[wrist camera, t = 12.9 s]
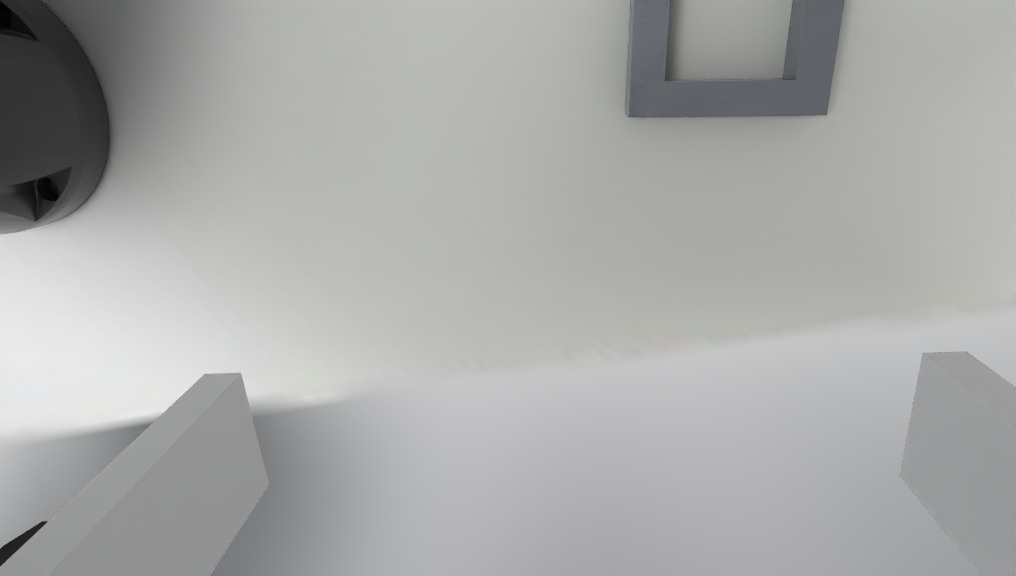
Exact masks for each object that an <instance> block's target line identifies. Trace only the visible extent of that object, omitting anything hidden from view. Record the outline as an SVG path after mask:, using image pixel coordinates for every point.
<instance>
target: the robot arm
mask: <svg viewBox="0 0 1016 576" xmlns="http://www.w3.org/2000/svg"><path fill="white" fill-rule="evenodd" d="M108 140H109V131H108V119H107V112H106V107H105V102H104V98H103V95H102V91H101V88H100V86H99V83H98V80H97V78H96V75H95V73H94V71H93V69H92V66H91V64H90V62H89V61H88V59H87V57H86V55H85V53H84V52H83V50H82V48H81V47H80V45H79V44H78V42H77V41H76V39H75V38H74V37H73V35H72V34H71V33H70V31H69V30H68V29H67V28H66V26H65V25H64V24H63V23H62V22H61V21H60V20H59V18H58V17H57V16H56V15H55V14H54V13H53V12H52V11H51V10H50V9H49V8H48V7H46V6H45V5H44V4H43V3H42V2H41V1H40V0H0V234H8V233H15V232H21V231H25V230H28V229H32V228H35V227H38V226H41V225H44V224H47V223H50V222H54V221H56V220H59V219H61V218H63V217H65V216H67V215H69V214H70V213H72V212H73V211H75V210H76V209H77V208H78V207H80V206H81V205H82V204H83V203H84V202H85V201H86V200H87V198H88V197H89V196H90V195H91V193H92V192H93V190H94V189H95V187H96V185H97V184H98V182H99V180H100V177H101V175H102V172H103V169H104V166H105V162H106V158H107V152H108ZM900 477H901V478H902V480H903V481H904V482H905V484H906V485H907V486H908V487H909V488H910V490H911V491H912V492H913V493H914V495H915V496H916V497H917V498H918V500H919V501H920V502H921V503H922V505H923V506H924V507H925V508H926V509H927V511H928V512H929V513H930V514H931V515H932V517H933V518H934V519H935V520H936V522H937V523H938V524H939V525H940V527H941V528H942V529H943V530H944V531H945V533H946V534H947V535H948V536H949V538H950V539H951V540H952V542H953V543H954V544H955V545H956V546H957V548H958V549H959V550H960V551H961V553H962V554H963V555H964V556H965V558H966V559H967V560H968V561H969V563H970V564H971V565H972V566H973V567H974V569H975V570H976V571H977V572H978V574H979V575H980V576H1016V387H1014V386H1013V385H1012V384H1010V383H1009V382H1007V381H1006V380H1005V379H1003V378H1002V377H1001V376H999V375H998V374H997V373H995V372H994V371H992V370H991V369H990V368H988V367H987V366H986V365H984V364H983V363H982V362H980V361H979V360H978V359H976V358H975V357H973V356H972V355H971V354H969V353H968V352H939V353H923V355H922V360H921V366H920V371H919V376H918V381H917V386H916V392H915V397H914V402H913V408H912V413H911V418H910V423H909V428H908V434H907V439H906V444H905V449H904V455H903V460H902V465H901V471H900ZM268 485H269V483H268V479H267V475H266V471H265V467H264V463H263V459H262V456H261V451H260V447H259V443H258V439H257V435H256V431H255V427H254V424H253V419H252V415H251V411H250V407H249V403H248V399H247V395H246V391H245V387H244V383H243V379H242V375H241V373H225V374H204V375H203V376H202V377H201V378H200V379H199V380H198V381H197V382H196V383H195V384H194V385H193V386H192V387H191V388H190V389H189V390H187V391H186V392H185V393H184V394H183V395H182V396H181V397H180V398H179V399H178V400H177V401H176V402H175V403H174V404H173V405H172V406H170V407H169V408H168V409H167V410H166V411H165V412H164V413H163V414H162V415H161V416H160V417H159V418H158V419H157V420H156V421H155V422H153V423H152V424H151V425H150V426H149V427H148V428H147V429H146V430H145V431H144V432H143V433H142V434H141V435H140V436H139V437H138V438H137V439H135V440H134V441H133V442H132V443H131V444H130V445H129V446H128V447H127V448H126V449H125V450H124V451H123V452H122V453H121V454H120V455H118V456H117V457H116V458H115V459H114V460H113V461H112V462H111V463H110V464H109V465H108V466H107V467H106V468H105V469H104V470H103V471H102V472H100V473H99V474H98V475H97V476H96V477H95V478H94V479H93V480H92V481H91V482H90V483H89V484H88V485H87V486H85V487H84V488H83V489H82V490H81V491H80V492H79V493H78V494H77V495H76V496H75V497H74V498H73V499H72V500H71V501H70V502H68V503H67V504H66V505H65V506H64V507H63V508H62V509H61V510H60V511H59V512H58V513H57V514H56V515H55V516H54V517H53V518H51V519H50V520H49V521H46V522H41V523H39V524H38V525H36V526H34V527H33V528H31V529H30V530H28V531H26V532H25V533H23V534H22V535H20V536H18V537H17V538H15V539H14V540H12V541H10V542H9V543H7V544H6V545H4V546H3V547H2V548H1V549H0V576H210V575H211V573H212V571H213V570H214V568H215V567H216V565H217V564H218V562H219V561H220V559H221V557H222V556H223V555H224V553H225V551H226V550H227V548H228V547H229V545H230V544H231V542H232V541H233V539H234V538H235V536H236V534H237V533H238V531H239V530H240V528H241V527H242V525H243V523H244V522H245V521H246V519H247V517H248V516H249V514H250V513H251V511H252V510H253V508H254V507H255V505H256V504H257V502H258V500H259V499H260V497H261V496H262V494H263V493H264V491H265V490H266V488H267V487H268Z"/></svg>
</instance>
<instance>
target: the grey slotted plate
mask: <svg viewBox="0 0 1016 576" xmlns="http://www.w3.org/2000/svg"><path fill="white" fill-rule="evenodd" d="M843 5H844V0H793V4H792V12H791V20H790V27H789V35H788V43H787V50H786V58H785V66H784V74H783V78H778V79H715V80H665V72H666V57H667V42H668V27H669V12H670V0H630V22H629V43H628V65H627V87H626V108H625V114H626V115H627V116H628V117H710V116H802V115H826V114H827V108H828V101H829V95H830V88H831V82H832V75H833V69H834V63H835V56H836V50H837V43H838V37H839V31H840V24H841V18H842V11H843Z"/></svg>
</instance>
